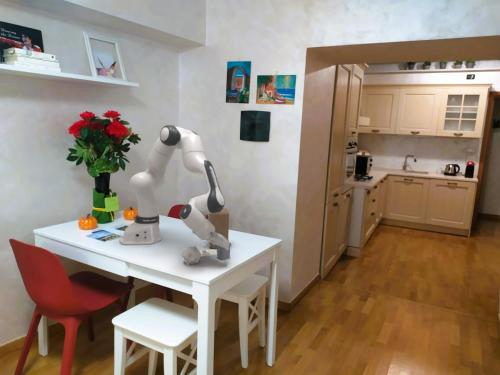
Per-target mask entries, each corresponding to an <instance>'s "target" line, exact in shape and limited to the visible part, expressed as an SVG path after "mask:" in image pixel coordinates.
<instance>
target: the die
mask: <svg viewBox="0 0 500 375" xmlns="http://www.w3.org/2000/svg"><path fill="white" fill-rule="evenodd" d="M199 251H200V250H199V248H198V247H197V246H196V245H195V246H186V247H185V248H184V251H183V253H182V256H181V257H182V259H183V261H184V262H185V264H186V265H194V264H195V265H196V263H197V264H198V263H199V261H200V259H201V257H200V256H201V253H200V252H199Z"/></svg>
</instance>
